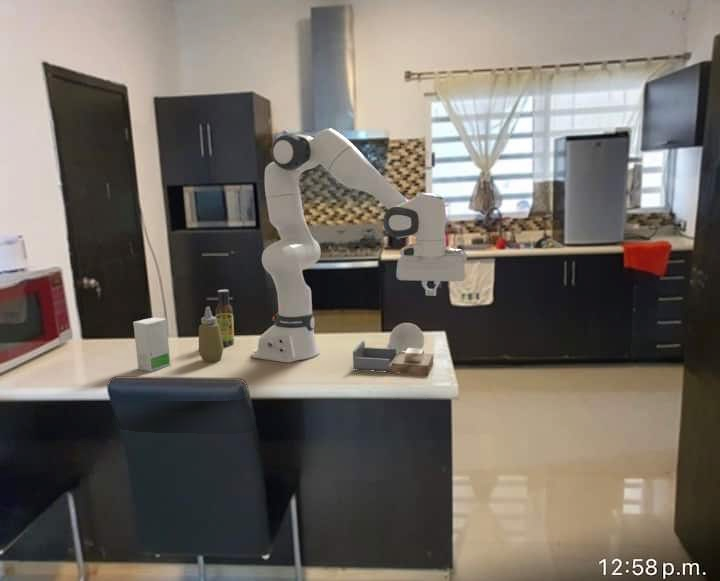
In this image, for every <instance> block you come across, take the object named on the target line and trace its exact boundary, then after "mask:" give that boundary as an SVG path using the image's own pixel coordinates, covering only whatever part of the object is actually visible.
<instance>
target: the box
mask: <svg viewBox="0 0 720 581" xmlns="http://www.w3.org/2000/svg"><path fill="white" fill-rule="evenodd" d="M396 356H397V354H396V349H391V348H386V347H370V346H369V347H368V346H366V343H365V340H362V341H361V342H360V343H359V344H358V345H357V346H356V348H354V349H353V351H352V364H353V368H352V369H355V370H354V371H358V370H374V371H386V372H385V373H388V372H392V362H393V360H394V359H395V357H396ZM356 369H357V370H356Z"/></svg>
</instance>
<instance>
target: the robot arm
mask: <svg viewBox="0 0 720 581" xmlns="http://www.w3.org/2000/svg"><path fill="white" fill-rule="evenodd" d="M270 156H271V159H272V162H270V163H268V164H267V165H266V167H265V169H264V192H265V199H266V205H267V212H268V218H269V223H270V224H271V225H272V226H273V227H274V228H275V229H276V231H277V233H278V235H279V237H280V240H278V241H275V242H273V243H272V244H269V245H268V246H267V247H266V248H264V250H263V252H262V254H261V264H262V266H263V269H264V270H265V271H266V272H267V273H268V274H270V276H271V278H272V280H273V283H274V285H275V289H276V294H277V303H278V304H277V305H278V308H277V309H278V312H277V313H276V314H275V315H273V317H272V318H271V319H272V320H271V321H274V324H273V325H272V326H270V327H269V328H268V329H267V330H266V331H264V333H262V334H261V335H260V337H259V339H258V343H257V347H256V348H255V349H254V350H253V351H252V352H251V358H253V359H261V360H267V361H275V362H280V363H293V362H296V361H303V360H308V359H311V358H315V357H316V356H318V354H319V353H320V351H319V349H318V345H317V342H316V341H317V340H316V336H315V330H314V329H315V317H314V311H313V304H312V290H311V287H310V286H309V285H308V284H307V283H306V281H305V278H304V275H303V271H304V270H306V269H309V268H311V267H312V266H314V265H315V264H316V263H317V262H318V261H319V260H320V258H321V255H322V253H321V252H322V250H321V246H320V243H319V242H318V241H317V240H316V239H315V238H314V237H313V236H312V234H311V230H310V229H309V227H308V223H307V222H306V218H305V214H304V213H305V212H304V208H303V202H302V197H301V188H300V184H299V182H300V176H301V175H307V174H308V173H310V172H312V171H313V170H316V169H317V168H319V167H321V166H322V167H323V168H324V169H325V170H326V171H327V172H328V173H329V174H330V175H331V176H332V177H333V179H335V180H336V181H337V182H338V183H340V184H342V185H343V186H344V187H346V188H349V189H352V190H357V191H362V192H364V193H367V194H369V195H372V196H373V197H374V198H376V199H377V201H378V202H380V203H381V204H382V205H383V206H384V207H385V208H386V209H387V210H386V211H385V213H384V215H383V219H382V220H383V221H382V225H383V228H384V230H385V232H386V233H387V234H388V235H389V236H391V237H393V238H397V239H402V238H406V237H411V236H413V237H415V243H412V244H409V245H406V246H403V247H402V248H401V249H400V250H399V254H400V257H399V258H398V260H397V263H396V264H397V265H396V275H395V276H396V279H397V280H399V281H418V282H419V281H421V285H422V287H423V289H424V291H425V296H431V297H432V296H433V297H434V296H435V297H436V296H437V289H438V288H439V285H440V283H441V282H463V281H464V280H465V279H466V277H467V276H466V274H467V273H466V271H467V270H466V264H467V260H468V258H467V257H468V256H467V253H466V252H465V251H464V250H462V249H460V248H459V249H458V248H457V249H454V248H447V236H446V233H445V232H446V229H445V228H446V225H447V215H446V214H447V213H446V205H445V200H444V198H443V197H442V196H441V195H439V194H436V193H433V192H432V193H431V192H418V193H417V194H416V195H415V196H414V197H413V198H411V199H409V198H408V197H406V196H405V195H404V194H403V193H402V192H400V191H399V190H398V189H397V188H396V187H395V186H394V185H393V184H392V183H391V182H389V181H388V180H387V179H386V177H384V176H383V175H382V174H381V173H380V172H379V171H378V170H377V169H376V168H375V166H373V164H372V163H371V162H370V161H369V160H368V159H367V157H366V156H364V155H363V153H362V152H361V151H360V150H359V149H358V148H357V147H356V146H355V145H354V144H353V143H352V142H351V141H350V140H348V139H347V138H346V137H345V136H344V135H342V134H341V133H340V132H338V131H336V130H335V129H333V128H325V129H322V130H320V131H319V132H318V133H317V134H316V135H315V136H314V135H308V134H303V133H297V134H294V133H293V134H292V133H291V134H290V133H288V134H287V133H286V134H282V135H280V136H278V137H277V138H275V140H274V141H273V143H272V144H271V148H270ZM428 282H433V284H434V285H435V286H434V288H429V287H428V285H427V284H428Z"/></svg>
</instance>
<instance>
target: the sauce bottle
mask: <svg viewBox="0 0 720 581" xmlns="http://www.w3.org/2000/svg"><path fill="white" fill-rule="evenodd" d="M229 296H230V290H229V289H226V288H225V289H219V290H217V305H216V307H215V309H214V310H215V316H214V317H216V323H218V324H219V325H220V331H221V336H222V341H223V347H228V346H232V345H234V344H235V340H234V339H235V330H234V329H235V328H234V327H235V326H234V313H233V311H234V310H233V307H232V305H231V303H230V298H229Z"/></svg>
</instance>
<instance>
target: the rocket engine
mask: <svg viewBox="0 0 720 581" xmlns="http://www.w3.org/2000/svg"><path fill="white" fill-rule="evenodd" d="M424 345H425V337H424V333H423V331H422V330H421V328H419V326H417V325H416V324H414V323H412V322H411V323H410V322H403V323H400V324H398V325H396V326H395V327H394V328H393V329H392V331H391V332H390V334H389V347H390V349H396V354H398V353H399V352H402V351H406V350H407V349H408V348H418V349H424Z"/></svg>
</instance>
